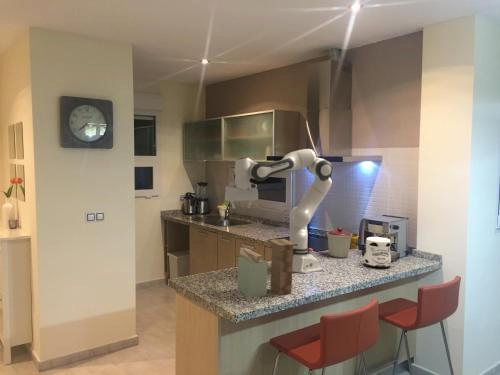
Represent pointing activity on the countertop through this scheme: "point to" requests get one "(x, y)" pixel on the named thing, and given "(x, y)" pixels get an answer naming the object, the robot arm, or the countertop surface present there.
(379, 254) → the white piece
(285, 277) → the walnut stand
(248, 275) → the sage box
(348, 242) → the canister
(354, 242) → the condiment
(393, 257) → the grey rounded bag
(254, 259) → the beech bar
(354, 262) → the countertop surface
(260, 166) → the robot arm
